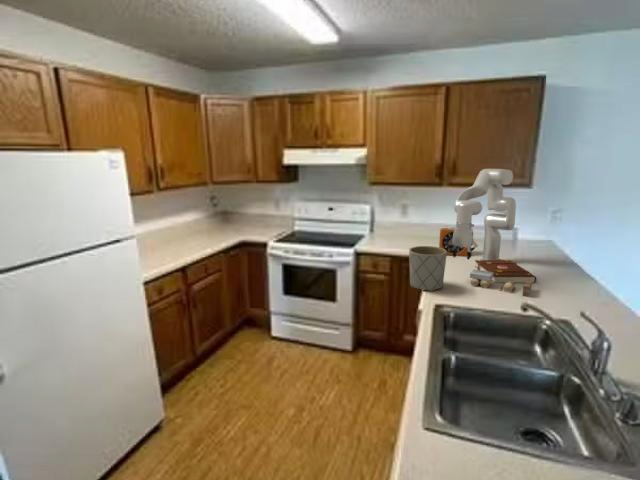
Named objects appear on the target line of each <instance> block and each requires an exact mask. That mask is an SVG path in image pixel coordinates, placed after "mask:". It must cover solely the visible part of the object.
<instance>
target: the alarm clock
mask: <svg viewBox="0 0 640 480" xmlns="http://www.w3.org/2000/svg"><path fill="white" fill-rule="evenodd" d="M455 227H456V224H455V225H450V226H448V227H446V226H443V227H440V228H439V237H438V239H439V241H438V243H439V244H438V247H439V248H443V249H445V250H446V251H447V255H446V257H447V256H449V257H450V256H451V257H453V250H452V248H451V247H450V246H449V244H448V243H447V242H449V241H450V240H451V239H453V233H454V229H455ZM451 244H452V242H451ZM452 245H453V244H452ZM453 246H454V245H453ZM456 250H457V253H456V257H467V252H468V249H467V247H461V246H457V247H456Z"/></svg>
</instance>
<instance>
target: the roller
mask: <svg viewBox="0 0 640 480" xmlns="http://www.w3.org/2000/svg"><path fill="white" fill-rule="evenodd" d="M503 285H504V286H503V288H502V290H503V291H504V292H505V293H511V291H512V290H513V288H514V287H515V283H514V282H513V281H511V280H509V281H507V282H506V283H504V284H503Z"/></svg>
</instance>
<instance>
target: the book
mask: <svg viewBox="0 0 640 480" xmlns="http://www.w3.org/2000/svg"><path fill="white" fill-rule="evenodd" d="M474 262H475V265H474V267H475V268H476V270H481V271H488V272H494V273H493V278H492V282H491V283H493V284H505V283H506V282H507V281H509V280H511V281H513V282H514V284H525V282H526V281H527V280H532V284H535V283H536V282H537V277H536V276H535V275H534V274H532V273H531V272H530V271H529V270H526V269H525V268H523V267H522V266H520V265H518V264H517V263H516V262H514V261H513V260H510V259H499V260H480V259H476V260H474Z"/></svg>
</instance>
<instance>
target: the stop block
mask: <svg viewBox="0 0 640 480" xmlns="http://www.w3.org/2000/svg"><path fill="white" fill-rule="evenodd" d="M523 284H524V285H523V287H522V297H525V296H526V297H525V298H528V297H529V295H530V293H531V291H532V287H533V285H532V284H533V283H532V280H527V281H526V282H525V283H523Z"/></svg>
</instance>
